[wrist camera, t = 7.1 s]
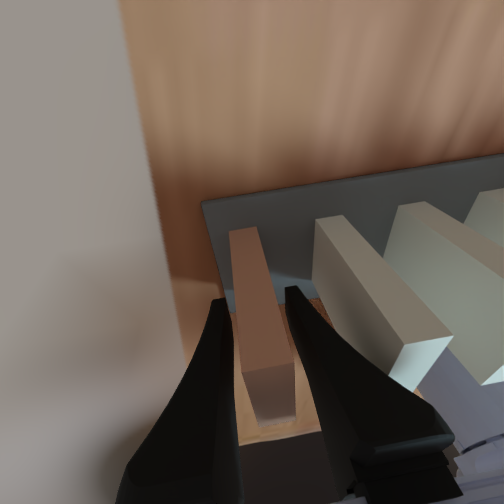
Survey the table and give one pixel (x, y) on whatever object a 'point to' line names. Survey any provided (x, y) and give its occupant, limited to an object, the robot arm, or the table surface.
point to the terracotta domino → (261, 332)
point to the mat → (340, 203)
